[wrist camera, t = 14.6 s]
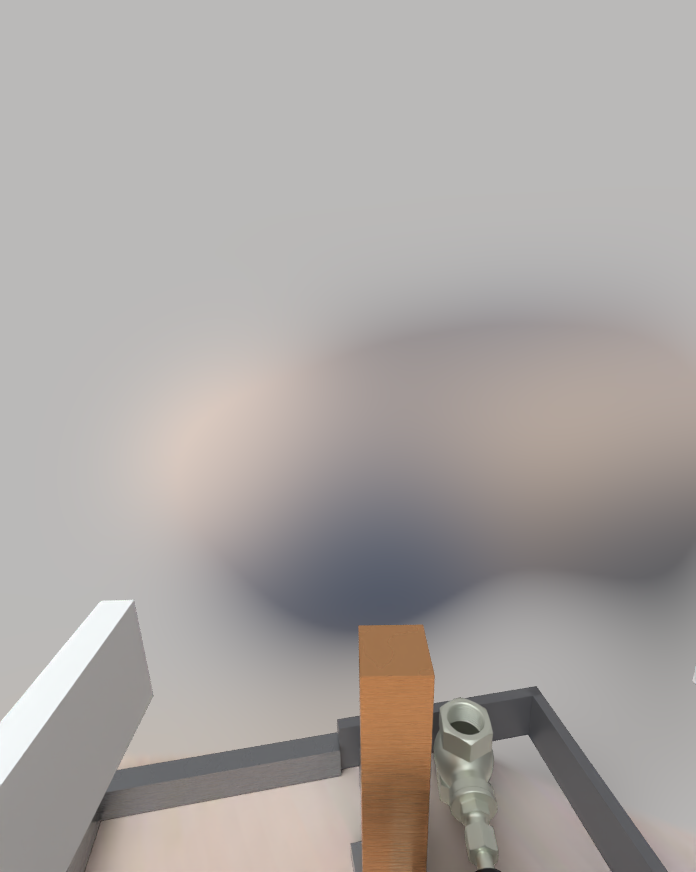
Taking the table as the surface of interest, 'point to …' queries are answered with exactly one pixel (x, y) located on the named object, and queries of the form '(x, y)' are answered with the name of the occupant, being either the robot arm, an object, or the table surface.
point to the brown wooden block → (394, 748)
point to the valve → (468, 776)
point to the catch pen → (566, 761)
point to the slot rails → (211, 780)
